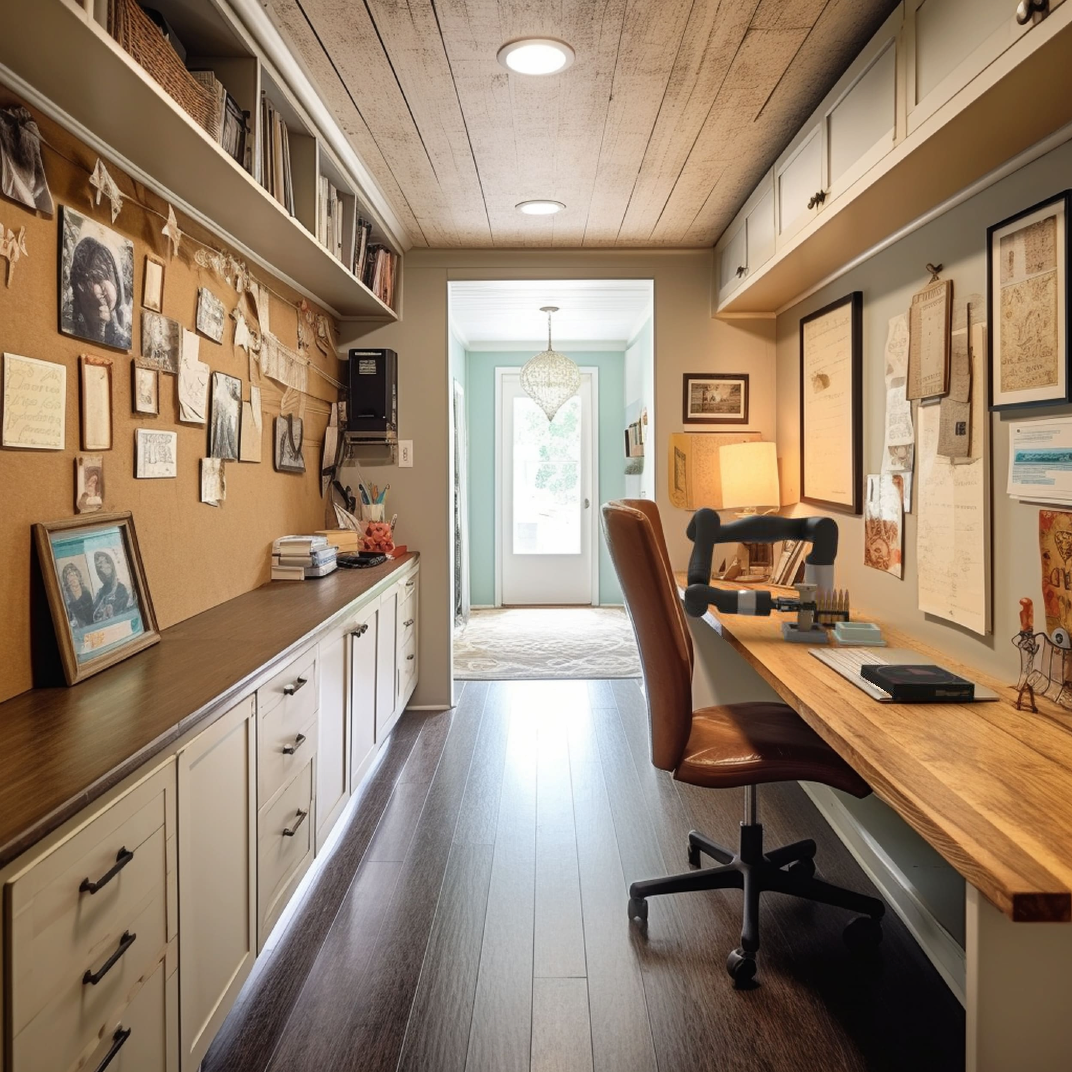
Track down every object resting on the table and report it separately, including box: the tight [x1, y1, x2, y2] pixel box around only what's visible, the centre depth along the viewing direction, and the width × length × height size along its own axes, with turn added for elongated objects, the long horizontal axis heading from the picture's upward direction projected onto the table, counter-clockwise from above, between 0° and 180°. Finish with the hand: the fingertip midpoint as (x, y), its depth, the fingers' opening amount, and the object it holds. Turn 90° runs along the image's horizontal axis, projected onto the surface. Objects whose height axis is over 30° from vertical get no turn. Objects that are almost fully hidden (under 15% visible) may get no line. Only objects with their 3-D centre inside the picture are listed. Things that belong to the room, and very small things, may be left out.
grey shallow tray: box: [830, 621, 887, 648], centre depth 217 cm, size 16×12×4 cm
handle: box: [793, 582, 818, 630], centre depth 220 cm, size 5×6×15 cm
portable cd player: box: [859, 664, 976, 702], centre depth 165 cm, size 16×17×4 cm
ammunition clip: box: [812, 588, 850, 628], centre depth 236 cm, size 11×2×12 cm, turn 76°
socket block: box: [781, 620, 829, 645], centre depth 220 cm, size 16×11×3 cm
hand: (815, 605), depth 219 cm, fingers closed on handle, 3 cm apart
